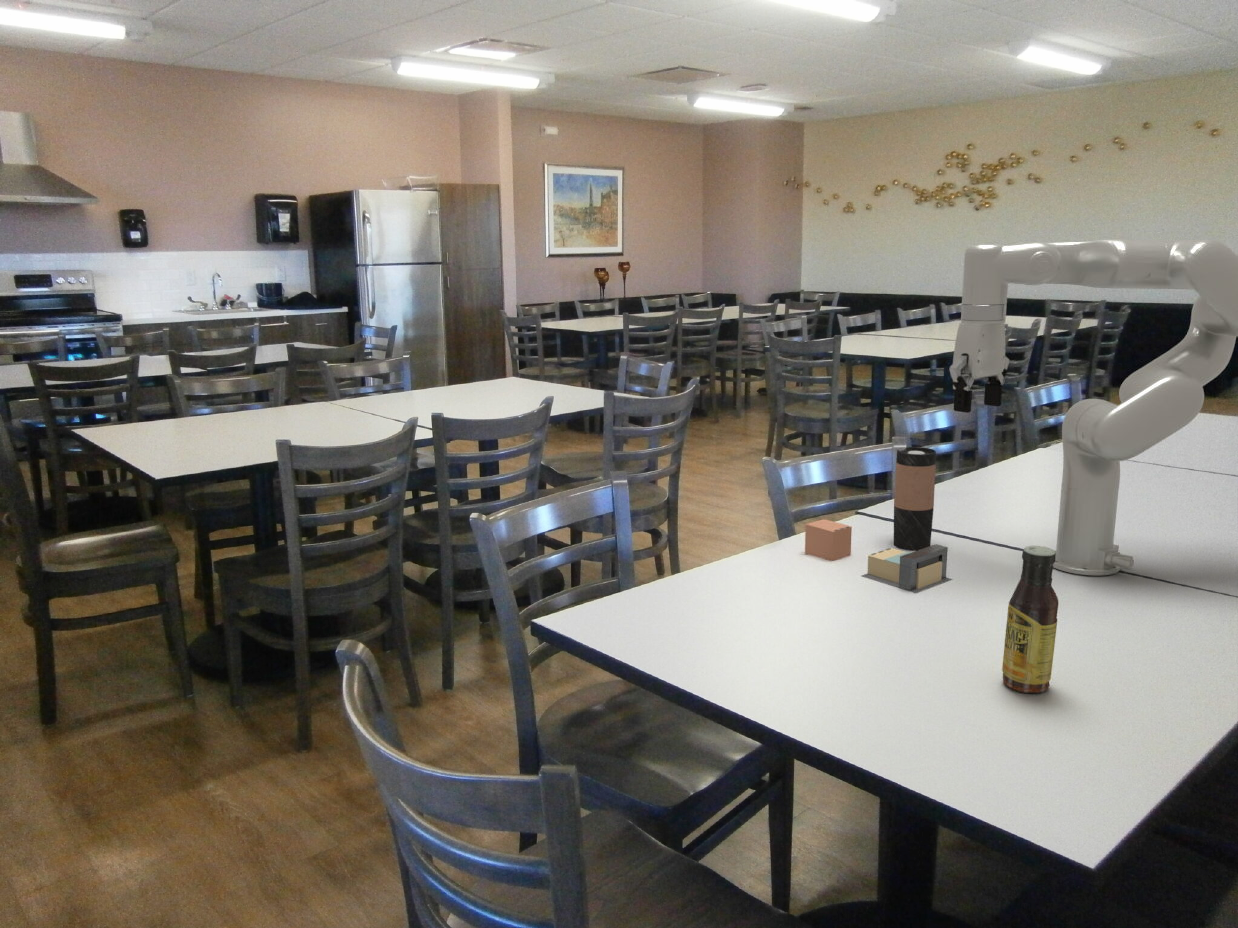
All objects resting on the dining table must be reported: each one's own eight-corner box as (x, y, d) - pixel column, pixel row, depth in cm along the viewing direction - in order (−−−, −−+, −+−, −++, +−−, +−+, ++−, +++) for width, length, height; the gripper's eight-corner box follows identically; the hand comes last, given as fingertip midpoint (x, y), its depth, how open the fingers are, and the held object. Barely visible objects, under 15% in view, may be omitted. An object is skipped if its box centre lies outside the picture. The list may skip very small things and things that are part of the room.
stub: (850, 555, 186) (851, 525, 185) (832, 561, 183) (833, 531, 182) (823, 547, 192) (823, 518, 190) (804, 553, 188) (805, 523, 187)
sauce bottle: (993, 677, 133) (1002, 542, 129) (1035, 674, 133) (1046, 540, 129) (1016, 698, 127) (1026, 557, 122) (1060, 695, 127) (1072, 555, 123)
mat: (952, 580, 172) (952, 579, 171) (915, 594, 165) (915, 593, 165) (897, 564, 181) (897, 563, 181) (860, 577, 174) (860, 575, 174)
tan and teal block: (941, 580, 171) (942, 561, 170) (918, 588, 167) (918, 569, 166) (890, 565, 180) (891, 547, 179) (867, 573, 175) (868, 555, 175)
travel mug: (933, 553, 187) (938, 455, 183) (893, 551, 189) (898, 454, 184) (929, 541, 194) (934, 447, 190) (890, 540, 196) (894, 446, 192)
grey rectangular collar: (946, 577, 172) (947, 547, 171) (910, 590, 166) (911, 559, 165) (934, 574, 174) (936, 544, 173) (898, 587, 168) (900, 556, 167)
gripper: (991, 311, 177) (985, 401, 181) (936, 316, 167) (931, 411, 171) (1029, 312, 171) (1022, 405, 175) (974, 318, 161) (968, 416, 165)
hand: (977, 408), depth 173 cm, fingers open, 9 cm apart
